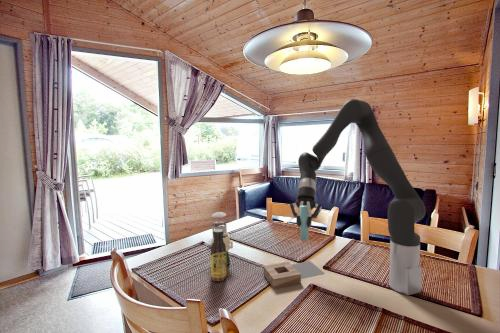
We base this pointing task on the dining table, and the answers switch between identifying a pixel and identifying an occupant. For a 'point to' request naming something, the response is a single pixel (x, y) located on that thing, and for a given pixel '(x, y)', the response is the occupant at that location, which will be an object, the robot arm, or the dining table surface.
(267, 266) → the socket block
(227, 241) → the character mug
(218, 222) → the french press
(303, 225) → the peg
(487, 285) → the dining table surface
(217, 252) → the sauce bottle
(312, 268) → the mat
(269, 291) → the dining table surface
